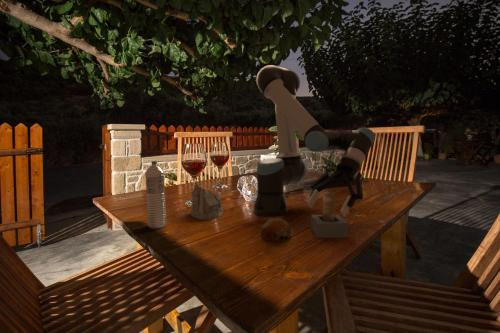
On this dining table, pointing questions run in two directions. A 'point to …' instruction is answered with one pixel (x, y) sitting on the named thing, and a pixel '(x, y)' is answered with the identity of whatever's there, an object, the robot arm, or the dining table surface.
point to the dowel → (328, 207)
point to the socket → (329, 227)
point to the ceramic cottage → (205, 204)
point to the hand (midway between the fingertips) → (324, 209)
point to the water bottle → (155, 196)
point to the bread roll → (275, 230)
